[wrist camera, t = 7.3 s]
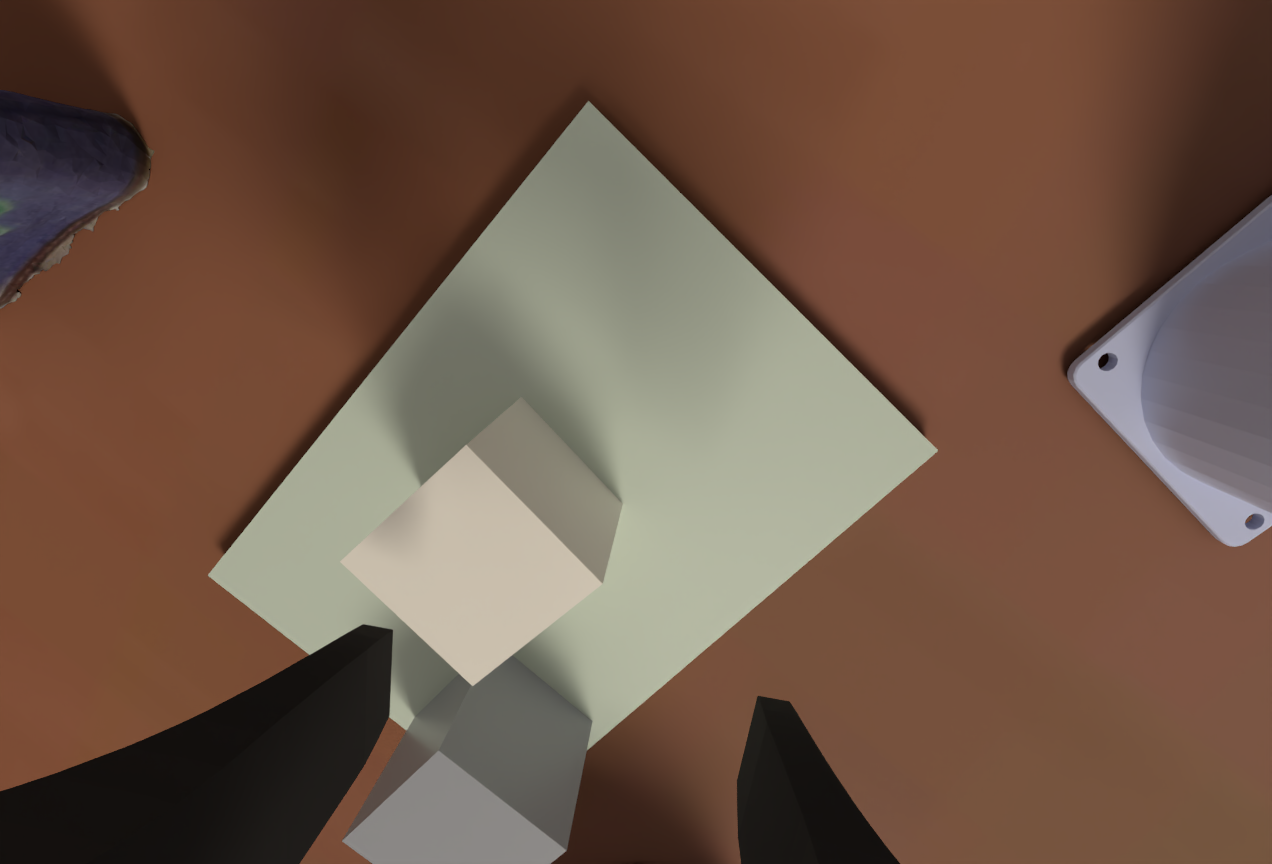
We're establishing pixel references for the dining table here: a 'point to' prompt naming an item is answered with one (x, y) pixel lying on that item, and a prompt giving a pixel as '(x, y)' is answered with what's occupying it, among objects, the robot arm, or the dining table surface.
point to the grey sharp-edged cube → (479, 777)
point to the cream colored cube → (493, 544)
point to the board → (594, 431)
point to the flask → (59, 180)
